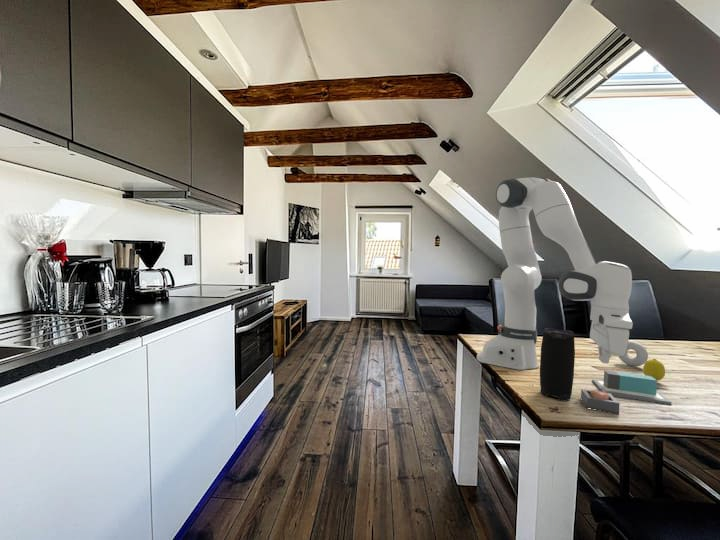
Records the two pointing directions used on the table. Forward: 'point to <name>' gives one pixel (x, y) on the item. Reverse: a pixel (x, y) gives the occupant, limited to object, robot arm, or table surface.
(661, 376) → the lemon
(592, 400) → the button housing
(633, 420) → the table surface
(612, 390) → the drawing board
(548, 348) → the portable speaker
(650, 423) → the table surface
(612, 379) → the marker
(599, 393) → the button
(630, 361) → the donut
